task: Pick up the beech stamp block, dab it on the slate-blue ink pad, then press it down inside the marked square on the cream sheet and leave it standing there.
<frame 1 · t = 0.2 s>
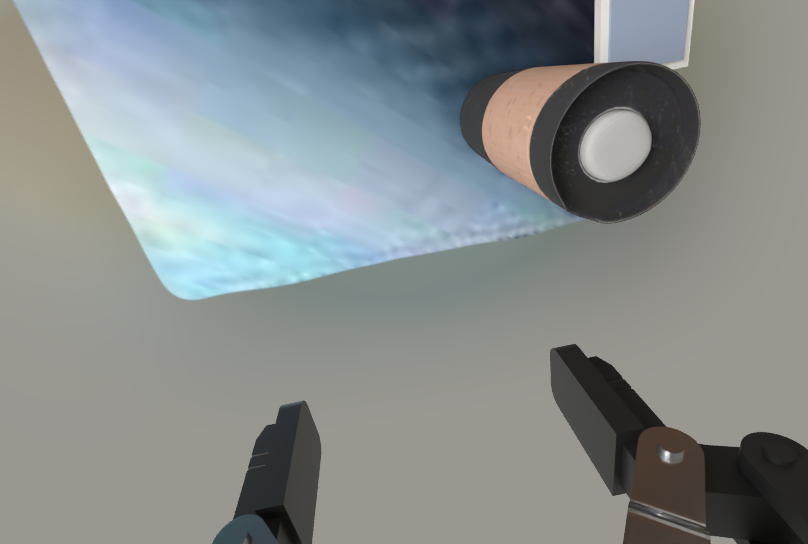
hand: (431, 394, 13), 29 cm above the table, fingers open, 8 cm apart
ink pad: (640, 12, 35), on the table
travel mug: (496, 117, 38), on the table
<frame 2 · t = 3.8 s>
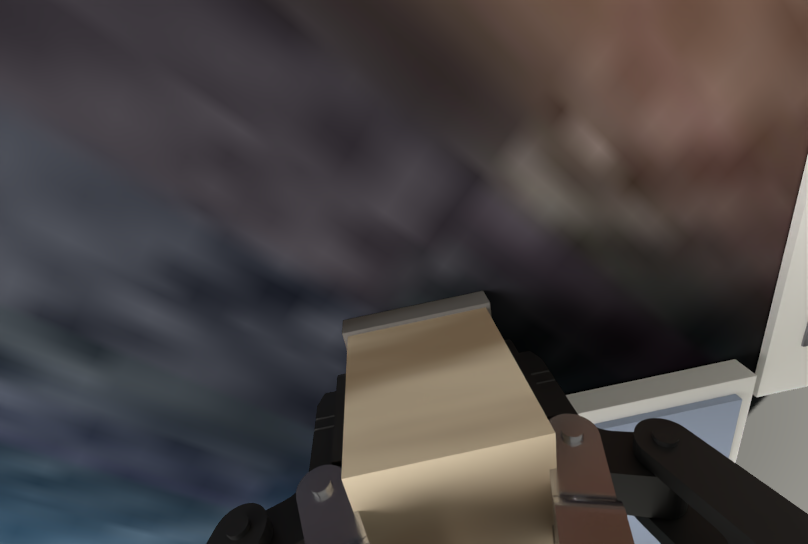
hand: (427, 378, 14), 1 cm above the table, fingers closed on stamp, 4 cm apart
ink pad: (629, 466, 18), on the table
stamp: (424, 362, 15), on the table, touching gripper
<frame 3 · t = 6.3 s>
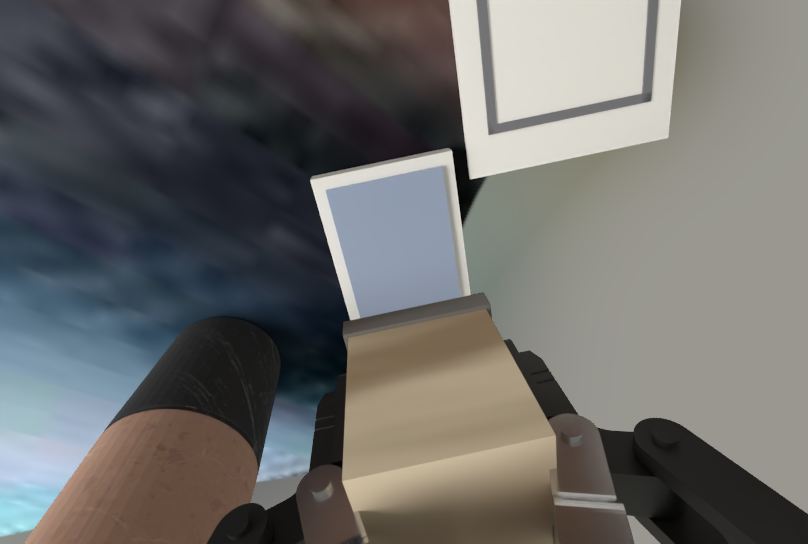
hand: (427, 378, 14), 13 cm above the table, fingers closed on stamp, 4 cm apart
sheet: (565, 23, 22), on the table
ink pad: (396, 241, 26), on the table
travel mug: (229, 358, 28), on the table
stamp: (424, 363, 15), point 12 cm above the table, touching gripper
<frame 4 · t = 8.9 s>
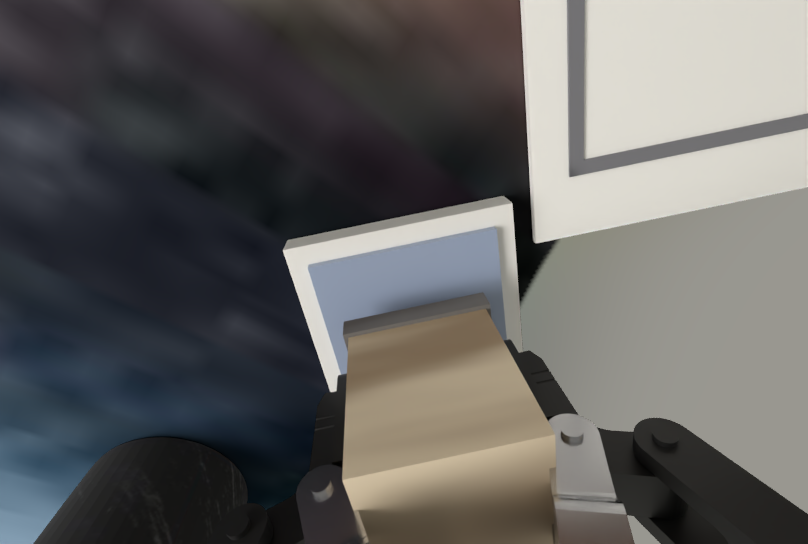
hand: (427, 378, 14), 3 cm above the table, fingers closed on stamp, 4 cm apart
ink pad: (418, 331, 17), on the table
travel mug: (173, 487, 20), on the table
stamp: (424, 363, 15), point 2 cm above the table, touching gripper
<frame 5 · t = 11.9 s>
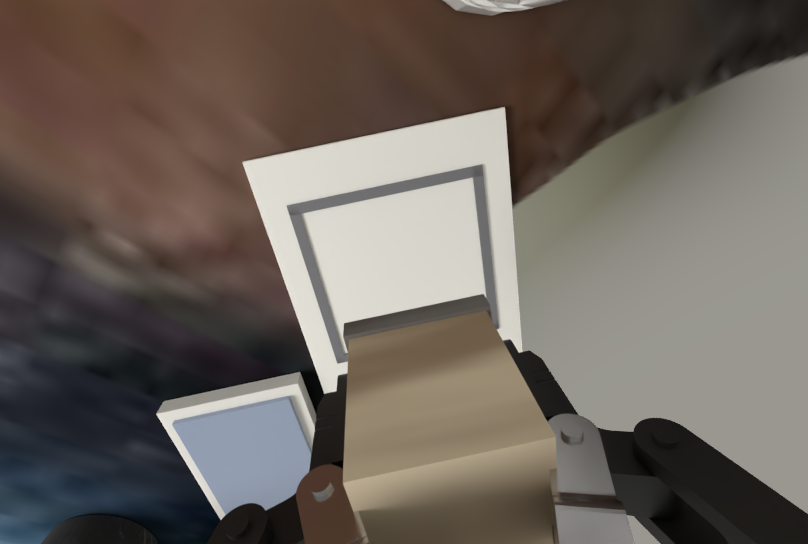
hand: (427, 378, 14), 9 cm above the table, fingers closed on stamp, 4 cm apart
sheet: (402, 270, 22), on the table
ink pad: (261, 446, 26), on the table
stamp: (425, 364, 15), point 8 cm above the table, touching gripper
when the fingers open (1 cm above the table, at t = 14.5 s): stamp stays where it is, resting on sheet.
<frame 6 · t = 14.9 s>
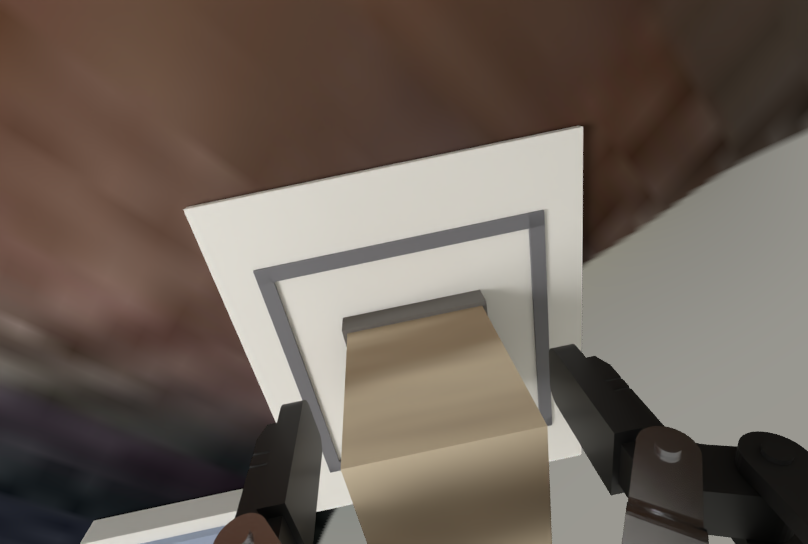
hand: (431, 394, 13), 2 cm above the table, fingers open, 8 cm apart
sheet: (421, 352, 15), on the table
stamp: (422, 359, 15), resting on sheet
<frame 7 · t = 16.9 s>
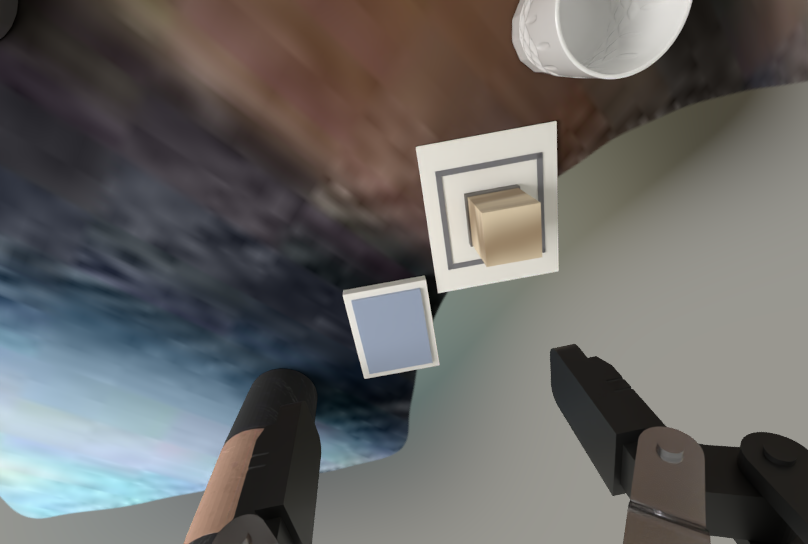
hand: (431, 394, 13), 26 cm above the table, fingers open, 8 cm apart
sheet: (491, 212, 38), on the table
ink pad: (393, 326, 42), on the table
travel mug: (284, 393, 45), on the table
stamp: (492, 214, 37), resting on sheet
white cup: (552, 27, 32), on the table
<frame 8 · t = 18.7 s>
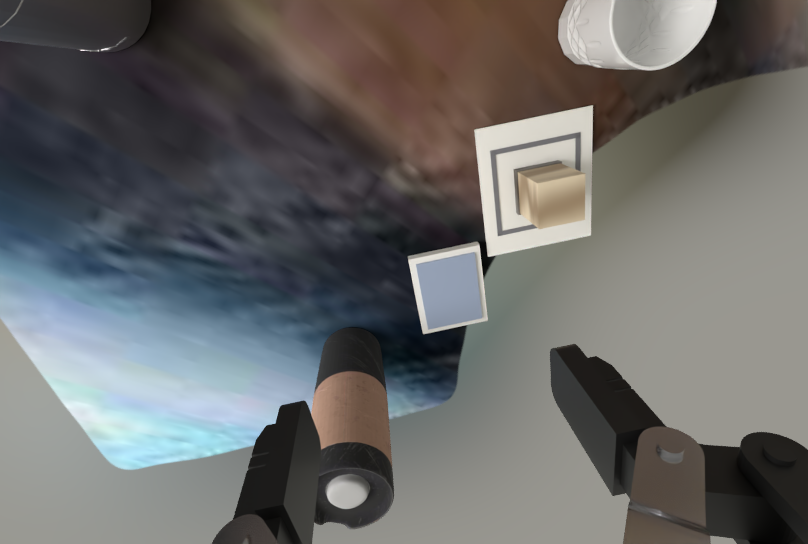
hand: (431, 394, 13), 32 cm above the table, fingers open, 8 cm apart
sheet: (535, 185, 44), on the table
ink pad: (448, 287, 48), on the table
travel mug: (352, 350, 51), on the table
stamp: (536, 187, 44), resting on sheet
white cup: (591, 25, 38), on the table
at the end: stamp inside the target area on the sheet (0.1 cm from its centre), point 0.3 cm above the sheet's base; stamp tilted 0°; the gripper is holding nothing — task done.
